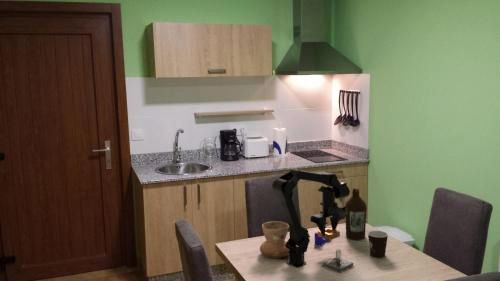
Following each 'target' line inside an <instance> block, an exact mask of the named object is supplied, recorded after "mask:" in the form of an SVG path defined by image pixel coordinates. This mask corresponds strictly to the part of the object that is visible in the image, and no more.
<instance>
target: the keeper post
mask: <svg viewBox="0 0 500 281" xmlns="http://www.w3.org/2000/svg"><path fill="white" fill-rule="evenodd" d="M341 252H342V251H341V249H339V248H337V249H335V257H333V258H330V259H328V260H325V261H324V262H323V263H322V264H323V265H322V266H323V267H324V268H328V269H330V270H333V271H335V272H338V273H342V272H344V271H346V270H348V269H350V268H352V267H354V262H352V261H349V260H347V259H344V258H341Z"/></svg>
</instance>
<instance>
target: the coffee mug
mask: <svg viewBox="0 0 500 281" xmlns="http://www.w3.org/2000/svg"><path fill="white" fill-rule="evenodd" d="M388 235H389V234H388V233H387V232H386V231H382V230H371V231H368V232H367V237H368V239H367V240H368V245H369V246H368V247H369V248H368V249H369V256H370V257H371V258H375V259H381V258H382V259H384V258H385V257H386V250H387V243H388V238H389V236H388Z"/></svg>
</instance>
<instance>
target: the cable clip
mask: <svg viewBox="0 0 500 281" xmlns="http://www.w3.org/2000/svg"><path fill="white" fill-rule="evenodd" d="M325 228H331V229H332V226H327V225H326V226H325ZM328 241H329V240H327V239H324V238H321V237H318V231H317V232H314V245H315V246H319V247H321V246H323V244H325V243H327V242H328Z"/></svg>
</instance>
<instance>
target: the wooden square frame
mask: <svg viewBox="0 0 500 281" xmlns="http://www.w3.org/2000/svg"><path fill="white" fill-rule="evenodd" d="M317 233H318V237H321V238H324V239H327V240H328V241H332V240H334V239H337V238H339V237H341V231H340V230H337V229H336V230H334V229H332V227H331V228H325V236H322V234H321V232H320V230H317Z"/></svg>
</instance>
